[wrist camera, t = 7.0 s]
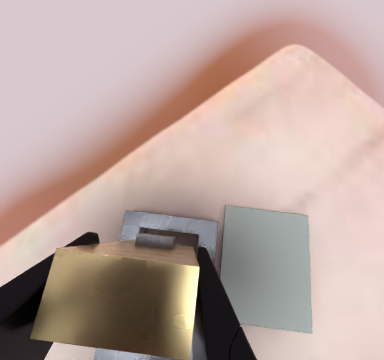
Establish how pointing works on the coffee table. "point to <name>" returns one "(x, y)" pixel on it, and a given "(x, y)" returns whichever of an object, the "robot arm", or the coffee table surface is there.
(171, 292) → the lever cap
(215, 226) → the plane body
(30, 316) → the robot arm
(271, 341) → the coffee table surface
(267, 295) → the bench mat
